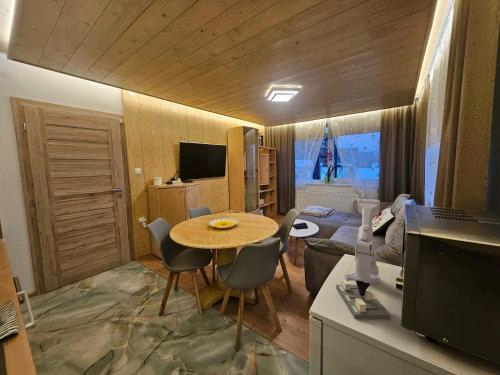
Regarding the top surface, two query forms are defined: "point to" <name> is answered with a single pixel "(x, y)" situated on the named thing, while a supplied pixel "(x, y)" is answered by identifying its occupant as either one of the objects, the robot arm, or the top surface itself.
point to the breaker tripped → (368, 295)
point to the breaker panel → (372, 306)
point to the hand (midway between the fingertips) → (361, 295)
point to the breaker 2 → (360, 304)
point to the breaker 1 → (346, 284)
